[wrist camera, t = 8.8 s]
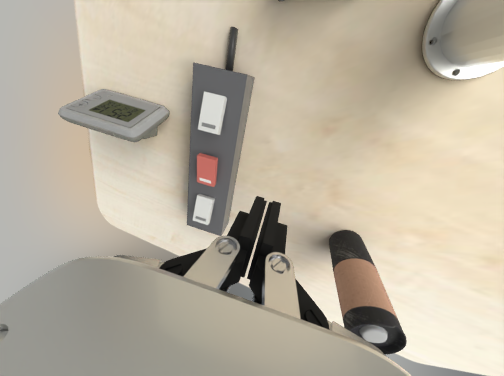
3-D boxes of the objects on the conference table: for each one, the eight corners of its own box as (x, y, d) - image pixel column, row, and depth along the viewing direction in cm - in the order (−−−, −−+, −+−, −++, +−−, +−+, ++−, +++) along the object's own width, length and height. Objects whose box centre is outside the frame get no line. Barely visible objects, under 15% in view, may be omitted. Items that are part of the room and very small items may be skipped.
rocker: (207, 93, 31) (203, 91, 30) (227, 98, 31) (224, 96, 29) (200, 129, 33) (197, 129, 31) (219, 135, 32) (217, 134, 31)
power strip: (208, 24, 31) (194, 12, 27) (261, 35, 30) (255, 24, 26) (196, 213, 50) (186, 224, 46) (228, 223, 49) (221, 236, 45)
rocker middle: (200, 152, 35) (196, 155, 34) (217, 157, 35) (215, 160, 34) (199, 179, 38) (196, 182, 37) (216, 184, 38) (213, 187, 37)
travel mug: (326, 252, 46) (342, 348, 29) (329, 227, 43) (349, 318, 26) (360, 255, 44) (399, 360, 27) (366, 230, 41) (415, 330, 24)
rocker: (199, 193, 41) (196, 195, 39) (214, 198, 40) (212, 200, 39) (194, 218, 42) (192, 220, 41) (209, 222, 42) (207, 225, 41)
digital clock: (175, 110, 39) (136, 115, 30) (167, 148, 43) (131, 162, 34) (106, 73, 39) (45, 67, 29) (105, 115, 43) (52, 121, 34)
